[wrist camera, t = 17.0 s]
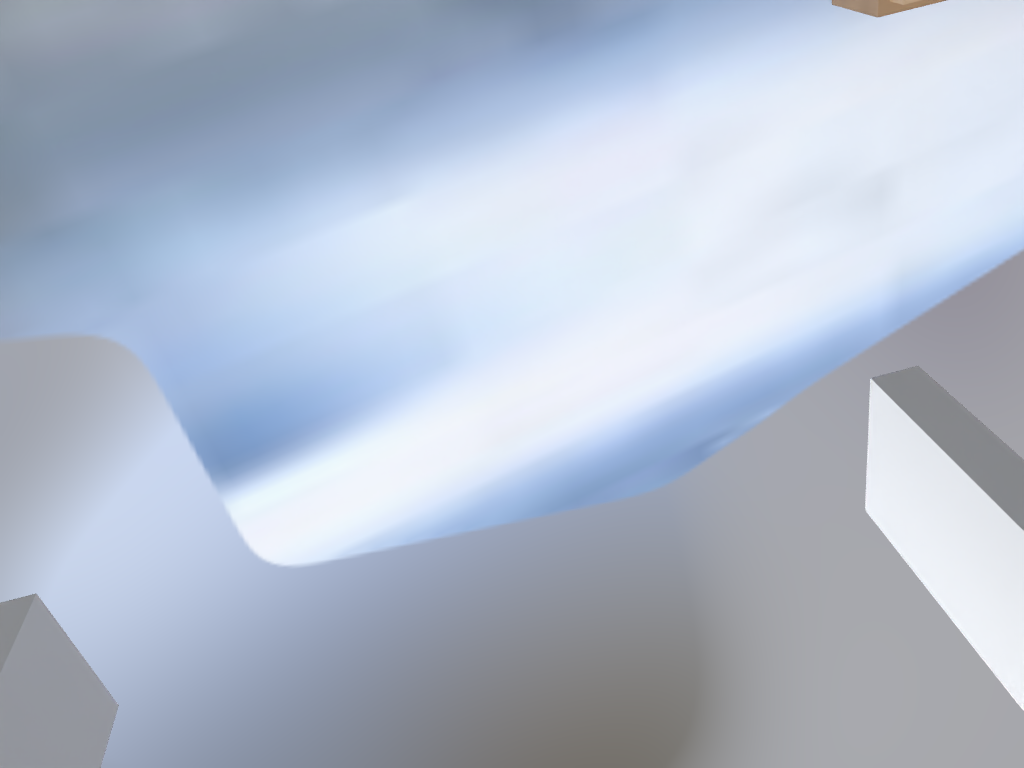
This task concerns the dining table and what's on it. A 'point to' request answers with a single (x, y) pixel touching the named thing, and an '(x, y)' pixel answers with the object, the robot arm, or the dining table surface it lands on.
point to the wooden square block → (882, 5)
